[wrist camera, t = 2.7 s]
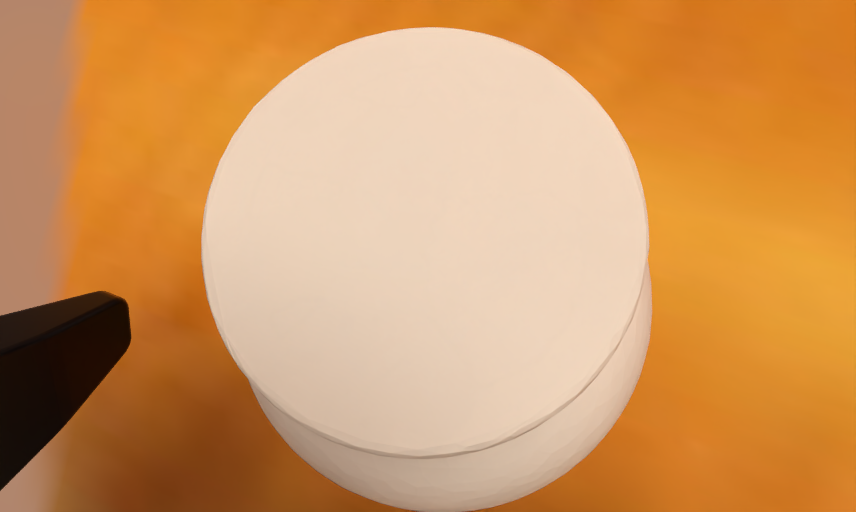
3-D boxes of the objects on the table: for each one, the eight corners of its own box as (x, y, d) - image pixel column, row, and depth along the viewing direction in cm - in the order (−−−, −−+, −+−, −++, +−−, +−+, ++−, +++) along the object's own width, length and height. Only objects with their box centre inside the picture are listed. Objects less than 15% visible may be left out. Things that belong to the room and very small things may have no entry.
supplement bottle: (337, 453, 18) (21, 527, 6) (365, 242, 20) (169, -58, 7) (563, 479, 17) (772, 627, 5) (572, 257, 19) (743, -48, 7)
